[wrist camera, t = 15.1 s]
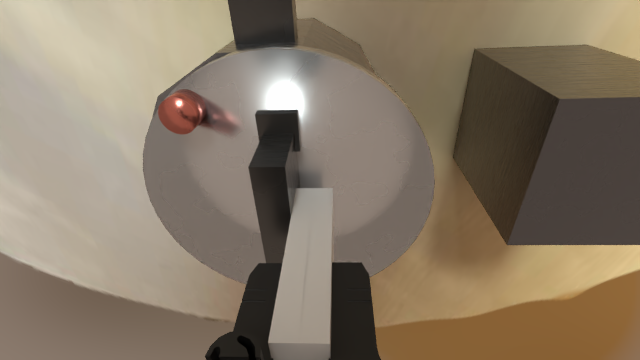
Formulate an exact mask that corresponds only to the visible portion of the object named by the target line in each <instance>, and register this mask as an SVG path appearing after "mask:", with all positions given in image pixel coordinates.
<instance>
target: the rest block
mask: <svg viewBox="0 0 640 360" xmlns="http://www.w3.org/2000/svg"><path fill="white" fill-rule="evenodd" d="M453 158H454V159H455V161H456V163H457V164H458V166H459V168H460V169H461V171H462V172H463V174H464V176H465V177H466V179H467V181H468V182H469V184H470V185H471V187H472V189H473V190H474V192H475V194H476V195H477V197H478V198H479V200H480V202H481V203H482V205H483V207H484V208H485V210H486V212H487V213H488V215H489V216H490V218H491V220H492V221H493V223H494V225H495V226H496V228H497V229H498V231H499V233H500V234H501V236H502V238H503V239H504V241H505V242H506V244H507V245H640V61H638V60H635V59H632V58H628V57H625V56H622V55H619V54H615V53H612V52H609V51H606V50H602V49H599V48H596V47H593V46H589V45H571V46H542V47H513V48H485V49H475V50H474V55H473V60H472V65H471V70H470V75H469V80H468V85H467V90H466V95H465V100H464V105H463V110H462V115H461V120H460V125H459V130H458V135H457V140H456V145H455V150H454V154H453Z"/></svg>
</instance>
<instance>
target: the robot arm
mask: <svg viewBox="0 0 640 360" xmlns="http://www.w3.org/2000/svg"><path fill="white" fill-rule="evenodd" d="M205 357H206V360H381V359H380V357H379V354H378V350H377V345H376V335H375V325H374V316H373V306H372V297H371V287H370V278H369V273H368V272H367V270H366V269H365V267H364V265H363V264H362V262H334V216H333V188H296V192H295V198H294V203H293V209H292V214H291V220H290V225H289V231H288V236H287V241H286V247H285V252H284V258H283V263H258V264H257V266H256V267H255V268H254V270H253V271H252V272H251V273H250V275H249V277H248V281H247V284H246V288H245V292H244V295H243V299H242V303H241V306H240V309H239V313H238V316H237V320H236V323H235V327H234V331H233V332H229V333H227V334H225V335H223V336H221V337H219V338H218V339H217V340H216V341H215V342H214V343H213V344H212V345H211V346H210V348H209V350H208V352H207V354H206V356H205Z"/></svg>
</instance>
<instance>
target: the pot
mask: <svg viewBox="0 0 640 360" xmlns="http://www.w3.org/2000/svg"><path fill="white" fill-rule="evenodd" d="M228 4H229V10H230V16H231V21H232V27H233V33H234V39H235V40H234V41H232V42H231V43H229V44H228V45H226V46H225V47H224V48H222V49H221V50H219V51H218V52H217V53H215V54H214V55H213V56H211V57H210V58H209V59H207V60H206V61H205V62H203V63H202V64H201V65H199V66H198V67H196V68H195V69H194V70H192V71H191V72H190V73H188V74H187V75H186V76H184V77H183V78H182V79H180V80H179V81H178V82H176V83H175V84H174V85H172V86H171V87H170V88H168V89H167V90H166V91H164V92H163V93H162V94H160V95H159V96H158V98H157V102H156V106H155V110H154V114H153V117H154V115H155V113H156V112H157V110H158V108H159V105H160V104H161V103H162V102H163V101H164V100H165V99H166V97H167V96H168V95H169V94H170V92H171V91H172V90H173V89H174V88H175V87H177V86H178V85H179V84H180V83H181V82H182V81H183V80H185V79H186V78H187V77H188V76H190V75H191V74H192V73H194V72H195V71H197V70H198V69H200V68H201V67H203V66H205V65H206V64H208V63H209V62H211V61H213V60H215V59H217V58H220V57H222V56H224V55H227V54H229V53H231V52H235V51H239V50H243V49H247V48H251V47H257V46H266V45H298V46H304V47H310V48H316V49H321V50H324V51H327V52H330V53H333V54H337V55H340V56H342V57H345V58H347V59H349V60H351V61H353V62H355V63H357V64H359V65H361V66H363V67H364V68H366V69H368V70H369V71H371V72H372V73H374V71H373V69H372V67H371V65H370V63H369V61H368V60H367V58H366V56H365V54H364V52H363V50H362V48H361V47H360V45H359V44H357V43H356V42H354V41H352V40H350V39H349V38H347V37H345V36H344V35H342V34H340V33H339V32H337V31H336V30H333V29H331V28H330V27H328V26H326V25H325V24H323V23H321V22H319V21H318V20H316V19H314V18H311V19H297V18H296V4H295V0H228ZM374 74H375V73H374ZM152 119H153V118H152Z"/></svg>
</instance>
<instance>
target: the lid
mask: <svg viewBox="0 0 640 360" xmlns="http://www.w3.org/2000/svg"><path fill="white" fill-rule="evenodd" d="M143 172H144V178H145V184H146V188H147V191H148V195H149V198H150V201H151V203H152V205H153V207H154V209H155V211H156V213H157V215H158V217H159V219H160V220H161V222H162V223H163V225H164V226H165V228H166V229H167V230H168V232H169V233H170V234H171V235H172V236H173V238H174V239H175V240H176V241H177V242H178V243H179V244H180V245H181V246H182V247H183V248H184V249H185V250H186V251H187V252H189V253H190V254H191V255H192V256H194V257H195V258H196V259H197V260H199V261H200V262H202V263H203V264H205V265H206V266H208V267H209V268H211V269H213V270H215V271H217V272H218V273H220V274H222V275H224V276H226V277H229V278H231V279H234V280H236V281H238V282H241V283H244V284H247V281H248V277H249V275H250V273H251V272H252V271H253V270H254V268H255V267H256V266H257V264H258V263H283V258H284V252H285V247H286V241H287V236H288V231H289V225H290V220H291V214H292V209H293V203H294V198H295V192H296V188H333V216H334V262H362V264H363V265H364V267H365V269H366V270H367V272H368V273H369V277H371V276H373V275H375V274H377V273H379V272H380V271H382V270H384V269H385V268H386V267H388V266H389V265H391V264H392V263H393V262H395V261H396V260H397V259H398V258H399V257H400V256H401V255H402V254H403V253H405V252H406V251H407V249H408V248H409V247H410V246H411V245H412V243H413V242H414V241H415V240H416V238H417V236H418V235H419V233H420V232H421V230H422V228H423V227H424V224H425V222H426V220H427V217H428V215H429V212H430V208H431V205H432V201H433V194H434V184H435V180H434V166H433V161H432V157H431V153H430V149H429V146H428V144H427V141H426V139H425V137H424V134H423V132H422V130H421V128H420V126H419V124H418V122H417V121H416V119H415V117H414V116H413V114H412V112H411V111H410V109H409V107H408V106H407V105H406V104H405V102H404V101H403V100H402V99H401V98H400V96H399V95H398V94H397V93H396V92H395V91H394V90H393V89H392V88H391V87H390V86H389V85H388V84H386V83H385V82H384V81H383V80H382V79H381V78H380V77H378V76H377V75H375V74H374V73H372V72H371V71H369V70H368V69H366V68H364V67H363V66H361V65H359V64H357V63H355V62H353V61H351V60H349V59H347V58H345V57H342V56H340V55H337V54H333V53H330V52H327V51H324V50H321V49H316V48H310V47H304V46H298V45H266V46H257V47H251V48H247V49H243V50H239V51H235V52H231V53H229V54H227V55H224V56H222V57H220V58H217V59H215V60H213V61H211V62H209V63H208V64H206V65H205V66H203V67H201V68H200V69H198V70H197V71H195V72H194V73H192V74H191V75H190V76H188V77H187V78H186V79H185V80H183V81H182V82H181V83H180V84H179V85H178V86H177V87H175V88H174V89H173V90H172V91H171V92H170V94H169V95H168V96H167V97H166V99H165V100H164V101H163V102H162V103H161V104H160V105H159V108H158V110H157V112H156V113H155V115H154V117H153V119H152V121H151V123H150V126H149V129H148V132H147V135H146V139H145V145H144V151H143Z"/></svg>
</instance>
